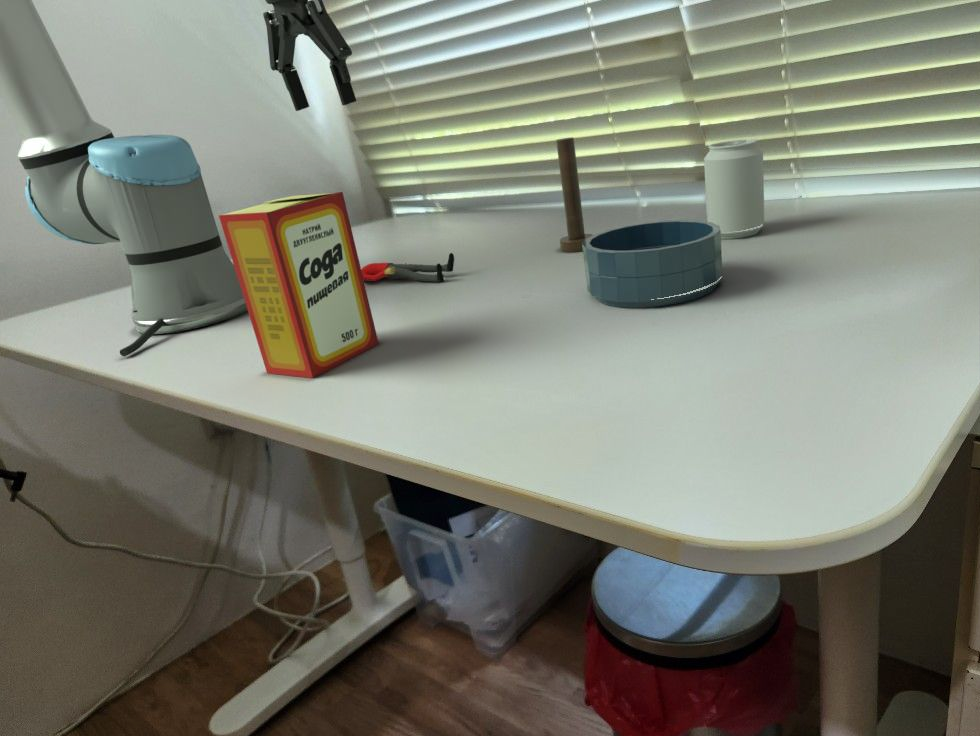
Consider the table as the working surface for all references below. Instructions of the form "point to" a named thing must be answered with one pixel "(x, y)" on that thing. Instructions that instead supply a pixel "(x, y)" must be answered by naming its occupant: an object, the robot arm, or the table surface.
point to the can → (735, 187)
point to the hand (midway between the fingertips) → (325, 106)
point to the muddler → (571, 197)
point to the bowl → (653, 262)
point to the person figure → (407, 271)
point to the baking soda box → (301, 282)
